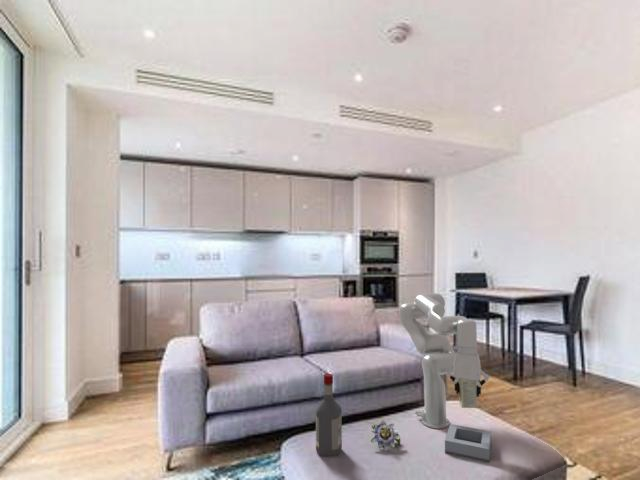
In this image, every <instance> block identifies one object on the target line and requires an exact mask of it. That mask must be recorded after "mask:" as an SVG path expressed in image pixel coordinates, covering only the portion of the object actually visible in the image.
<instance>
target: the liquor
mask: <svg viewBox="0 0 640 480" xmlns="http://www.w3.org/2000/svg"><path fill="white" fill-rule="evenodd" d="M333 385H334V374H333V373H325V374H323V387H324V389H323V391H324V392H323V393H324V394H323V396H324V397H323V400H322V401H321V402H320V404H319V405H317V407H316V410H315V451H316V452H317V454H318V455H319V456H324V457H329V458H333V457H337V456H338V455H339V453H340V451H341V450H342V443H343V439H342V437H343V435H342V434H343V433H342V432H343V431H342V428H343V427H342V421H343V420H342V419H343V418H342V415H343V414H342V407H341V405H340V404H339V403H338V402H337V401H336V400H335V399H334V394H333V393H334V391H333V390H334V389H333Z"/></svg>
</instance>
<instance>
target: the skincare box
mask: <svg viewBox="0 0 640 480" xmlns="http://www.w3.org/2000/svg"><path fill="white" fill-rule="evenodd" d="M458 382H459V393H458V403H459V405H460V407H461V409H477V408H478V397H477V383H476V381H472V380H466V379H464V378H462V377H460V379H459V380H458Z"/></svg>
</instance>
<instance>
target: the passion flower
mask: <svg viewBox="0 0 640 480" xmlns="http://www.w3.org/2000/svg"><path fill="white" fill-rule="evenodd" d="M394 427H395V424H394V423H390V424H387V422H386V420H385V419H381V422H380V423H378V424H375V423H374V424H373V425H371V428H372V430H371V433H373V435H374V434H375V435H374V437H372V438H371V440H370V442H371V443H376V442H377V445H378V448H379V449H381V448H383V451H385V452H386V451H388V448H389V446H390V448H395V441H396V442H397V444H398V446H400V445H401V443H402V442H401V436H400V435H399V430H398V429H394Z"/></svg>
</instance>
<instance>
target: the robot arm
mask: <svg viewBox="0 0 640 480" xmlns="http://www.w3.org/2000/svg"><path fill="white" fill-rule="evenodd" d="M445 305H446V301H445V299H444V297H443V295H442V294H440V293H437V292H435V293H434V292H433V293H421V294H417V296H416V297H415V298H414V302H406V303H403V304H401V306H400V307H399V310H398V314H399V320H400V322H401V325H402V326H403V327H404V329H405V330H406V332H407V333H408V334H409V336H410V338H411V340H412V343H413V344H414V347H415V349H416V351H417V352H418V354H420V355H421V356H423V357H422V358H421V367H422V368H421V369H422V373H423V374H422V375H423V388H424V393H423V394H424V395H423V396H424V410H417V409H416V410H415V414H416V417H419V418H420V417H421V423H422V424H423V426H426V427H428V428H430V429H431V428H432V429H436V430H437V429H439V430H440V429H441V430H442V429H446V428H449V426H450V424H451V421H450V420H449V419H448V418H447V395H446V394H447V393H446V392H447V391H446V384H445V383H446V382H445V381H444V380H443V378H442V377H441V376H442V375H447V376H448V377H449V378H450V380H451V381H452V382H453V384H454V391H455V392H456V393H455V394H457V395H459V379H460V377H462V378H464V379H466V380H472V381H476V384H477V398H479V397H480V395H481V394H482V388H481V387H482V386H483V385H485V384H486V382H488V381H489V379H490V376H489V375H488V374H487V373H485V372H484V371H483V370H482V367H481V360H480V355H479V353H478V345H477V343H478V341H477V340H478V339H477V337H478V335H477V322H476V321H475V320H474V319H471V318H467V317H465V316H463V315H451V316H450V315H448V316H447V315H446V316H444V315H445V313H446V308H445ZM422 319H423V320H424V319H427V323H428V325H429V328H431V329H432V330H433V331H434V332H435V333H437V334H430V333H429V332H428V331H427V328H426V326H424V324H422V323H421V322H420V321H418V320H422ZM446 335H456V345H453V346H452V345H451V343H450V342H449V340H448V338H447V337H446ZM455 351H456V352H455ZM482 377H483V378H482ZM481 378H482V379H481Z"/></svg>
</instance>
